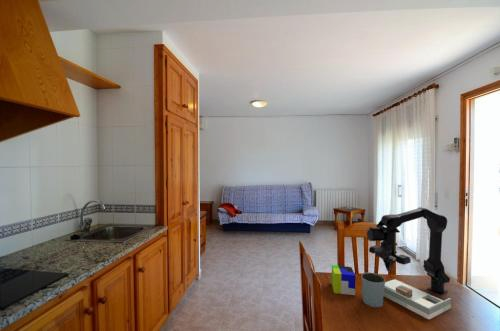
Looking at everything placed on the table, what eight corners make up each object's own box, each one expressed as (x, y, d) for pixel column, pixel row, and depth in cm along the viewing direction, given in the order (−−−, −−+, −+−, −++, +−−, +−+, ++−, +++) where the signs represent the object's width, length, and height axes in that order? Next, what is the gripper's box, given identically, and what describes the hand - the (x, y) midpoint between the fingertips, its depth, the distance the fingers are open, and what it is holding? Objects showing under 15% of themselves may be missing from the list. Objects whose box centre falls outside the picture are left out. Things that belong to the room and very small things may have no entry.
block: (401, 291, 121) (401, 285, 121) (412, 296, 117) (412, 289, 117) (395, 293, 119) (395, 287, 119) (406, 299, 114) (406, 292, 114)
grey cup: (383, 299, 118) (384, 274, 117) (385, 311, 108) (386, 284, 108) (360, 294, 122) (361, 270, 122) (360, 305, 113) (361, 279, 112)
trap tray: (394, 282, 134) (394, 274, 134) (450, 308, 111) (451, 298, 111) (373, 290, 126) (373, 281, 126) (428, 319, 103) (429, 309, 103)
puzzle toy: (355, 295, 121) (355, 275, 121) (334, 293, 123) (334, 273, 123) (351, 285, 131) (351, 266, 131) (331, 283, 133) (331, 265, 133)
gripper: (362, 237, 129) (361, 266, 129) (397, 249, 112) (396, 282, 113) (376, 234, 134) (375, 263, 134) (411, 245, 118) (411, 277, 118)
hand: (388, 270), depth 125 cm, fingers closed
